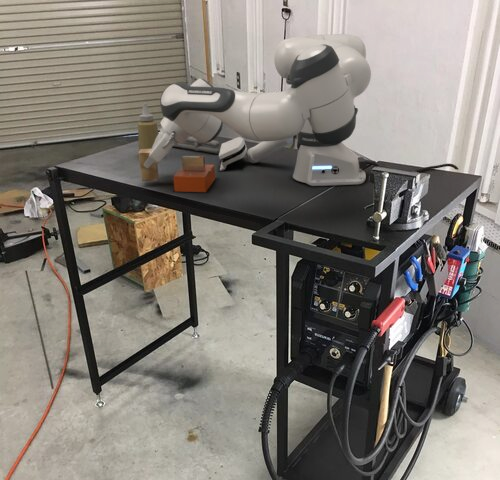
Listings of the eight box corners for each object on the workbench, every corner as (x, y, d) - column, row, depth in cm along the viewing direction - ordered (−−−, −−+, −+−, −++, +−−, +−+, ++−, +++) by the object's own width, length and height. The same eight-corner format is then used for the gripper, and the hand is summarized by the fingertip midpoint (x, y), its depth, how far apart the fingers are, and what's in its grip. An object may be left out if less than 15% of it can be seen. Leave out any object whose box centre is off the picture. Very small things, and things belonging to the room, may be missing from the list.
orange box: (184, 178, 170) (182, 163, 168) (217, 179, 169) (216, 164, 166) (172, 191, 160) (171, 175, 157) (207, 192, 158) (206, 176, 155)
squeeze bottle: (163, 154, 196) (157, 101, 187) (161, 160, 190) (155, 105, 180) (141, 154, 196) (134, 102, 187) (138, 160, 189) (131, 106, 180)
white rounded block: (220, 171, 176) (248, 159, 173) (214, 158, 173) (242, 145, 171) (223, 158, 190) (249, 147, 187) (217, 145, 187) (244, 133, 185)
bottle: (258, 157, 184) (314, 125, 167) (253, 166, 182) (309, 134, 164) (249, 146, 182) (304, 111, 164) (243, 155, 179) (299, 121, 162)
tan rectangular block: (183, 170, 162) (181, 156, 159) (184, 169, 163) (183, 154, 161) (204, 171, 161) (203, 156, 158) (205, 169, 162) (204, 155, 160)
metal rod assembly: (164, 146, 206) (163, 133, 203) (169, 145, 208) (168, 131, 205) (216, 155, 193) (215, 141, 190) (221, 153, 194) (220, 139, 192)
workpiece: (158, 176, 167) (155, 148, 162) (157, 180, 163) (153, 152, 158) (143, 176, 167) (140, 149, 162) (142, 181, 163) (138, 153, 158)
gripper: (181, 144, 150) (151, 181, 155) (185, 128, 167) (158, 161, 172) (164, 128, 147) (133, 166, 152) (169, 114, 165) (142, 148, 170)
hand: (146, 163), depth 162 cm, fingers closed on workpiece, 4 cm apart
